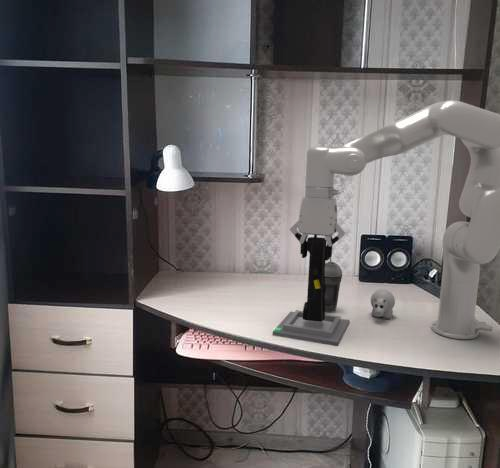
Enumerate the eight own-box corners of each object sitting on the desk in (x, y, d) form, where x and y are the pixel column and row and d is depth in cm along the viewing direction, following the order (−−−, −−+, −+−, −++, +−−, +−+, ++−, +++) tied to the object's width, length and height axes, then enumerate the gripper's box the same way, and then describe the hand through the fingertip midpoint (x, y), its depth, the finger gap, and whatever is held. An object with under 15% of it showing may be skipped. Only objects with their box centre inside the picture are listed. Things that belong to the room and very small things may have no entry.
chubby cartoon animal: (363, 322, 147) (365, 295, 145) (372, 310, 157) (374, 285, 156) (388, 327, 144) (390, 299, 142) (395, 314, 154) (397, 288, 153)
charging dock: (349, 323, 146) (349, 315, 145) (337, 346, 129) (338, 337, 129) (290, 314, 152) (290, 306, 151) (272, 335, 135) (272, 326, 135)
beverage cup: (322, 314, 152) (326, 251, 149) (313, 307, 159) (316, 246, 156) (344, 313, 154) (348, 250, 151) (334, 305, 161) (337, 245, 157)
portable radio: (324, 323, 135) (329, 234, 131) (302, 321, 137) (306, 233, 132) (325, 314, 143) (330, 229, 138) (304, 312, 144) (308, 228, 139)
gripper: (353, 193, 134) (349, 258, 137) (292, 190, 140) (289, 252, 143) (348, 196, 127) (344, 264, 130) (284, 192, 133) (282, 257, 136)
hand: (315, 257), depth 137 cm, fingers closed on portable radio, 5 cm apart
